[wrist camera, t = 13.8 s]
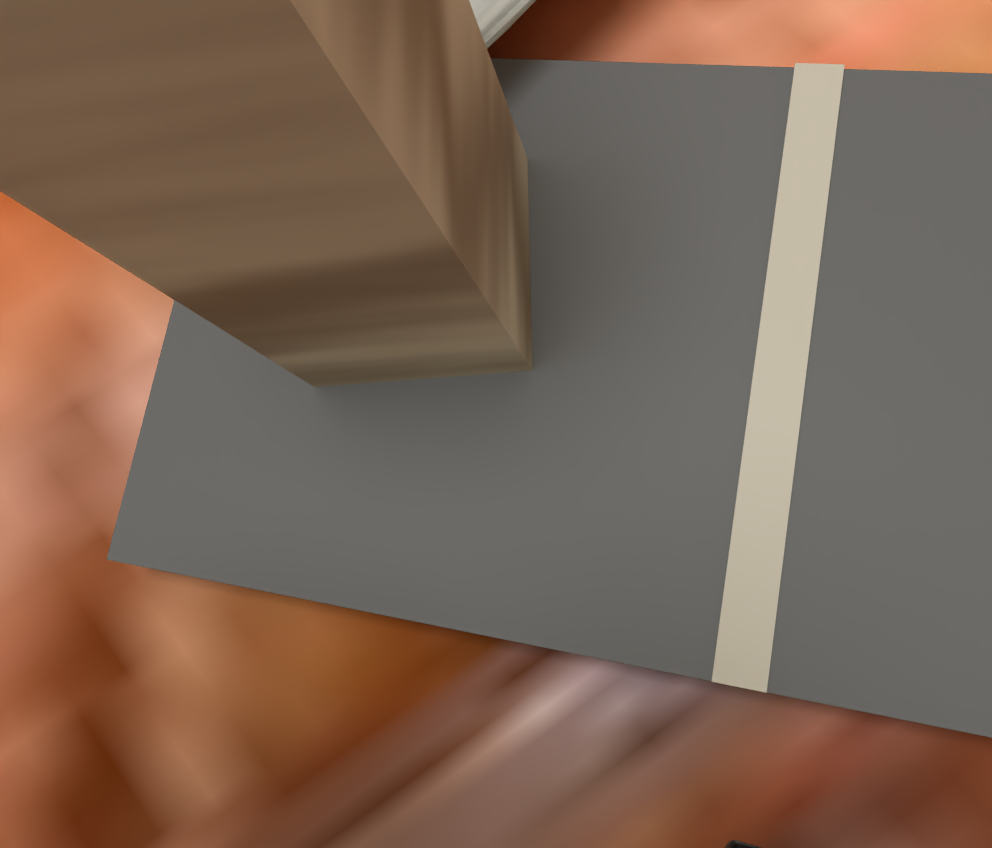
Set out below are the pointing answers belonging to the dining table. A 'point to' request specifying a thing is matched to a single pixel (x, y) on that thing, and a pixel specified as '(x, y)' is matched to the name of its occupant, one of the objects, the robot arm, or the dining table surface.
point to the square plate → (497, 16)
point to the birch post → (285, 172)
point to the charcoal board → (657, 404)
